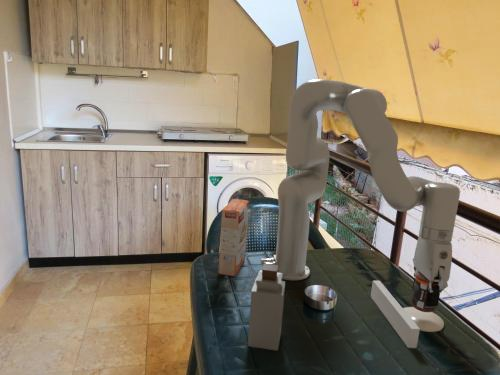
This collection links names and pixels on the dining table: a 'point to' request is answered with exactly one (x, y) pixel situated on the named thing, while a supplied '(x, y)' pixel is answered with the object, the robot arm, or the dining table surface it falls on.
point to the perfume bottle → (266, 309)
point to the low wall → (395, 314)
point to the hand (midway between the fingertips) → (424, 298)
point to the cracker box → (233, 236)
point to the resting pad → (425, 320)
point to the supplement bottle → (421, 293)
